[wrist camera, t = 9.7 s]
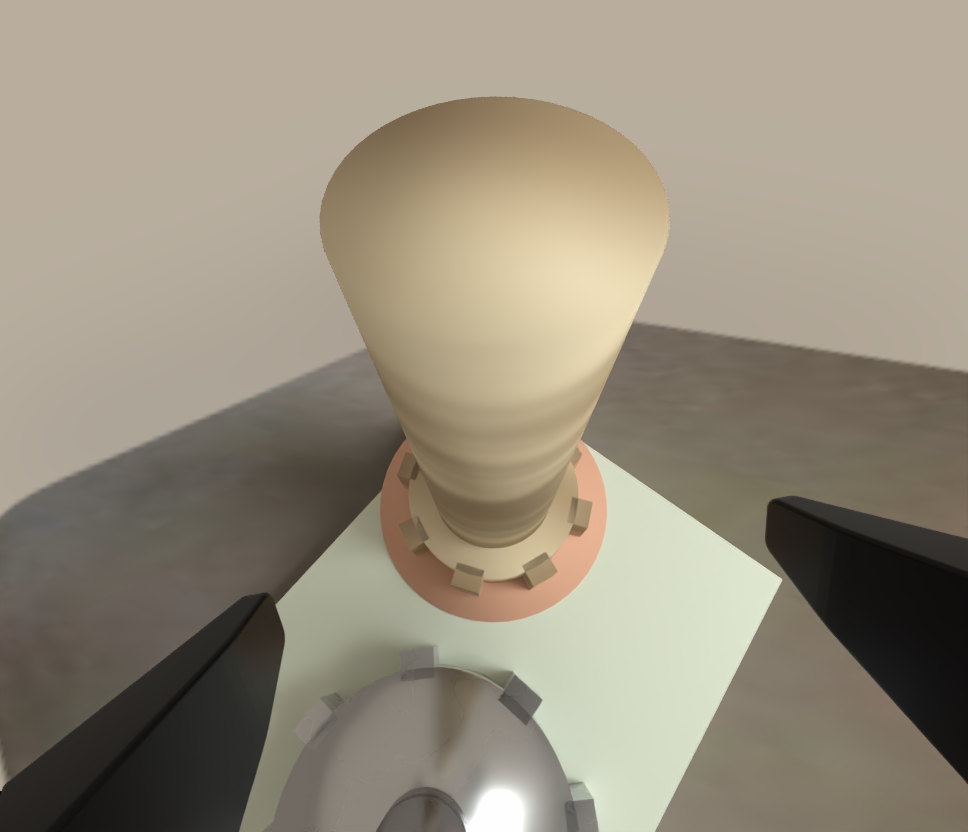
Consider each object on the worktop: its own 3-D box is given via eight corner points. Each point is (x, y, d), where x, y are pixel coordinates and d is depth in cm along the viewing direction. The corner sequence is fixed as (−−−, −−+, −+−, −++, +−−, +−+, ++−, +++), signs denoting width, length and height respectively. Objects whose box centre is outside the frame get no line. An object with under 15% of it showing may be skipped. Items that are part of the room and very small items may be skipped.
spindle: (563, 622, 15) (801, 576, 3) (375, 564, 16) (61, 374, 4) (598, 442, 18) (797, 78, 6) (436, 401, 19) (343, 17, 7)
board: (466, 1153, 11) (463, 1212, 10) (148, 731, 15) (120, 739, 14) (766, 578, 17) (786, 574, 16) (478, 378, 21) (477, 363, 20)
